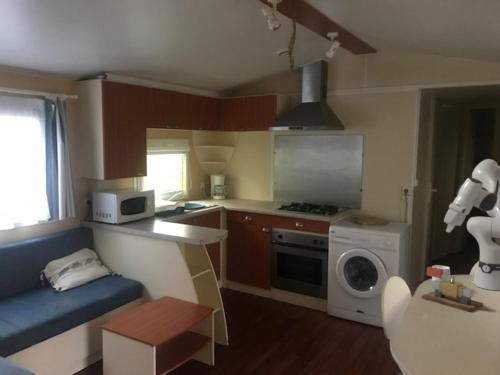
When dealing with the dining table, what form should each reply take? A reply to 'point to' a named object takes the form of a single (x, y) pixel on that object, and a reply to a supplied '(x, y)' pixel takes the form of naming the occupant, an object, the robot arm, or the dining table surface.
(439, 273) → the lever
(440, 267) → the cup
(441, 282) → the valve
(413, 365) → the dining table surface
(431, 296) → the board
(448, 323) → the dining table surface
